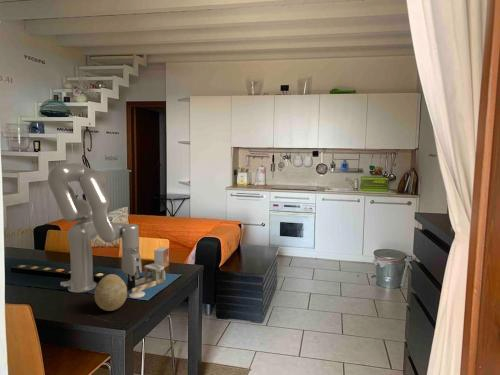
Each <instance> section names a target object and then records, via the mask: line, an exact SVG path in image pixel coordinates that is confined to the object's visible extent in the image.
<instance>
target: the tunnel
mask: <svg viewBox="0 0 500 375" xmlns="http://www.w3.org/2000/svg"><path fill="white" fill-rule="evenodd" d="M143 267H144V276H143V277H142V278H137V279H136V280H135V282H137V281H141V280H145V279H149V278H152V271H155V281H153V282H150V283H147V284H144V285H141V286H138V287H136V288H132V289H131V292H135V291H144V290H147V289H149V288H153V287H154V286H158V285H161V284H163V283H165V281H164V271H165V268H164V267H163V266H159V265H156V264H154V262H152V263H149V264H146V265H144V266H143ZM148 270H150V275H148ZM159 270H161V279H158V271H159ZM160 283H161V284H160ZM157 284H158V285H157ZM125 285H126V287H127V289H129V288H128V286H127V282H126V283H125Z"/></svg>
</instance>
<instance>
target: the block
mask: <svg viewBox="0 0 500 375" xmlns="http://www.w3.org/2000/svg"><path fill="white" fill-rule="evenodd" d="M153 277H154V278H155V271H152V278H153ZM158 279H161V270H159V271H158ZM164 280H165V281H166V270H164Z"/></svg>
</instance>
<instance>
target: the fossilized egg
mask: <svg viewBox="0 0 500 375" xmlns="http://www.w3.org/2000/svg"><path fill="white" fill-rule="evenodd" d="M125 284H126V283H125V281H124V280H123V279H122V278H121V277H120V276H119V275H117V274H114V273H110V274H107V275H105V276H104V277H102V278H101V279H100V280H99V282H97V286H96V287H95V288H94V297H93V298H94V302H95V303H96V305H97V306H98V307H99V309H102V311H107V312H112V311H116V310H118V309H119V308H121V307H122V306H123V305H124V303H125V302H126V300H127V297H128V288H127V287H126V285H125Z"/></svg>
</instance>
